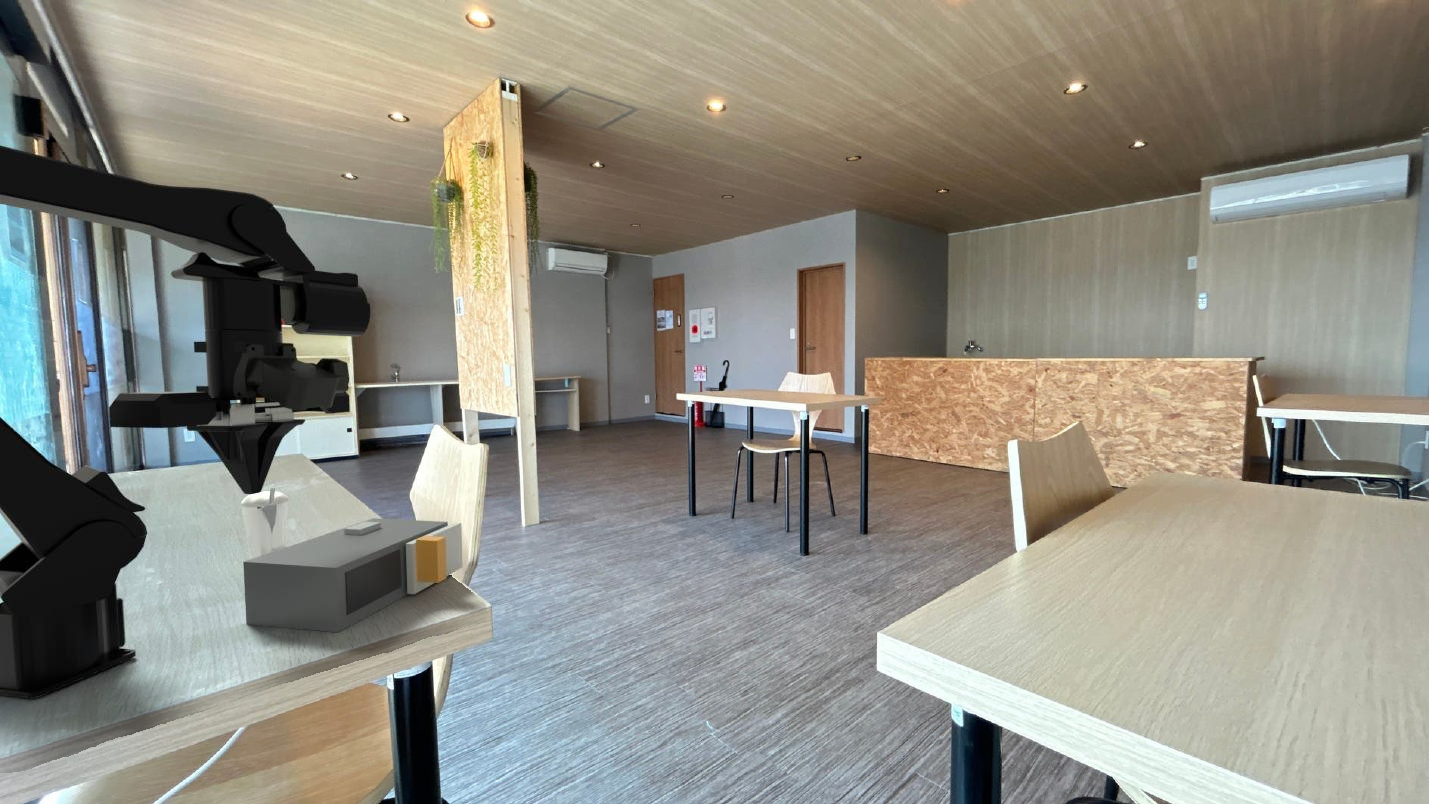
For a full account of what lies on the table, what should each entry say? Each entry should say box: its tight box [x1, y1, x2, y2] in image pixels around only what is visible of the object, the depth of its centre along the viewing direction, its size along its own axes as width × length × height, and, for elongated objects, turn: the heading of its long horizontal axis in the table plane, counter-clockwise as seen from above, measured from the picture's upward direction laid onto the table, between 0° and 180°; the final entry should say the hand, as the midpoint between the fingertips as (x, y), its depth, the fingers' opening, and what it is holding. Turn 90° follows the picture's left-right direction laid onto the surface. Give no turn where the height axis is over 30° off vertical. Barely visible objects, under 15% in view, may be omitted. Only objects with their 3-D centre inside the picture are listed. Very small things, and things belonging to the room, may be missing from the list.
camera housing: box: [242, 517, 449, 633], centre depth 61 cm, size 17×10×7 cm, turn 170°
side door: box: [406, 522, 463, 595], centre depth 64 cm, size 8×3×6 cm, turn 170°
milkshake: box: [240, 487, 289, 560], centre depth 69 cm, size 4×5×10 cm
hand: (252, 493), depth 55 cm, fingers closed
